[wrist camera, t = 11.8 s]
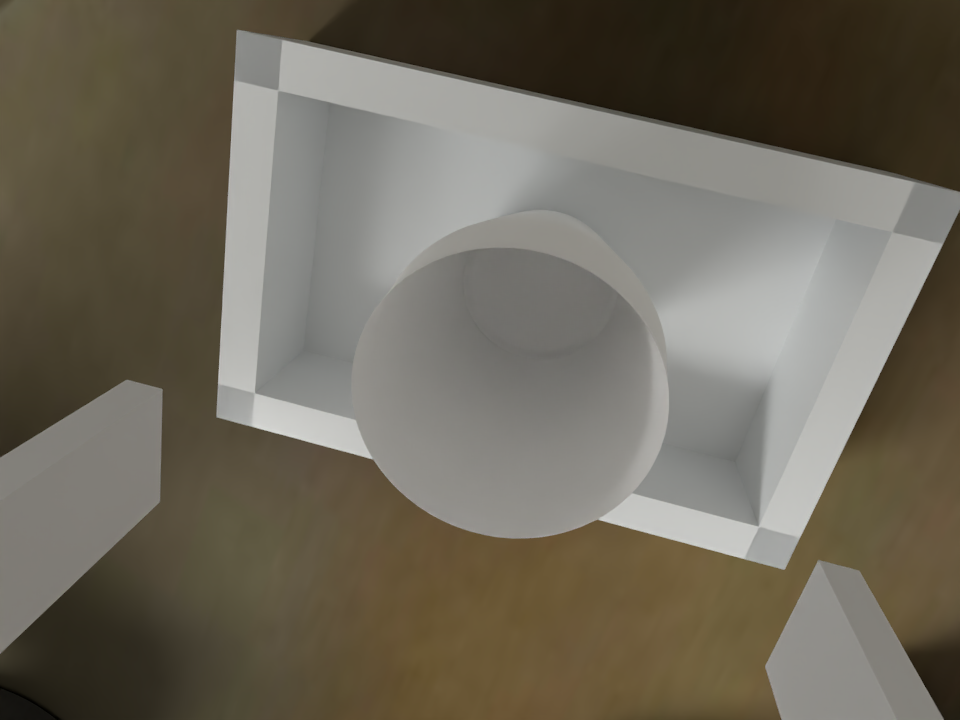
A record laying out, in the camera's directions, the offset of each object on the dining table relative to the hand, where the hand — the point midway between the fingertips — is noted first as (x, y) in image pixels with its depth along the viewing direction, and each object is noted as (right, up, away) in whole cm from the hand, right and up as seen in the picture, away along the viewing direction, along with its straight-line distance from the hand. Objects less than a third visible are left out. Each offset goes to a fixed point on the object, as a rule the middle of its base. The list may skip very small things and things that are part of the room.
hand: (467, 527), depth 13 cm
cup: (+3, +7, +16) cm, 18 cm away
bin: (+3, +7, +17) cm, 18 cm away
